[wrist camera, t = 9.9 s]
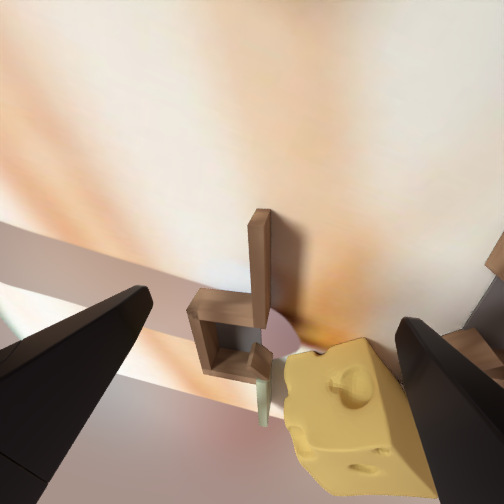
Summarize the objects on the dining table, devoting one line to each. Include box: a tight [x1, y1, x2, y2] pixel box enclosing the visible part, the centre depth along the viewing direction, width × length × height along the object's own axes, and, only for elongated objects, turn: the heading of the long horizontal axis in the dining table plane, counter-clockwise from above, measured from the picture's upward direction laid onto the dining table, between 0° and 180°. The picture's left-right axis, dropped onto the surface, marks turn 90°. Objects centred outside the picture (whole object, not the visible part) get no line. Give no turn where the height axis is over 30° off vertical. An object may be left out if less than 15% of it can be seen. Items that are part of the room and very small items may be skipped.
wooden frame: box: [186, 209, 504, 427], centre depth 24 cm, size 33×31×4 cm
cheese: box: [284, 338, 438, 499], centre depth 24 cm, size 10×11×10 cm
